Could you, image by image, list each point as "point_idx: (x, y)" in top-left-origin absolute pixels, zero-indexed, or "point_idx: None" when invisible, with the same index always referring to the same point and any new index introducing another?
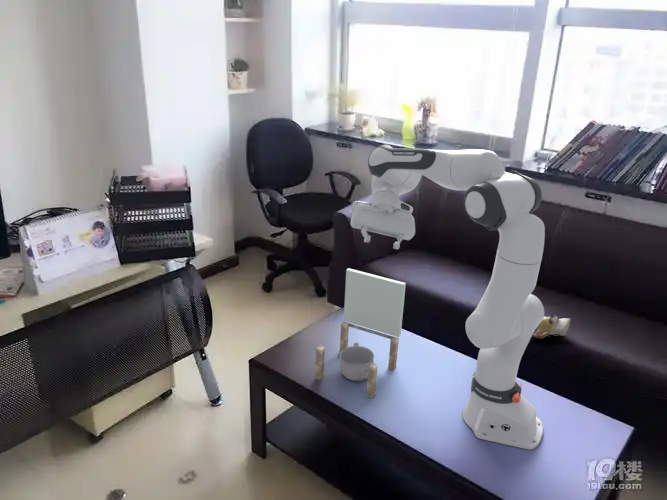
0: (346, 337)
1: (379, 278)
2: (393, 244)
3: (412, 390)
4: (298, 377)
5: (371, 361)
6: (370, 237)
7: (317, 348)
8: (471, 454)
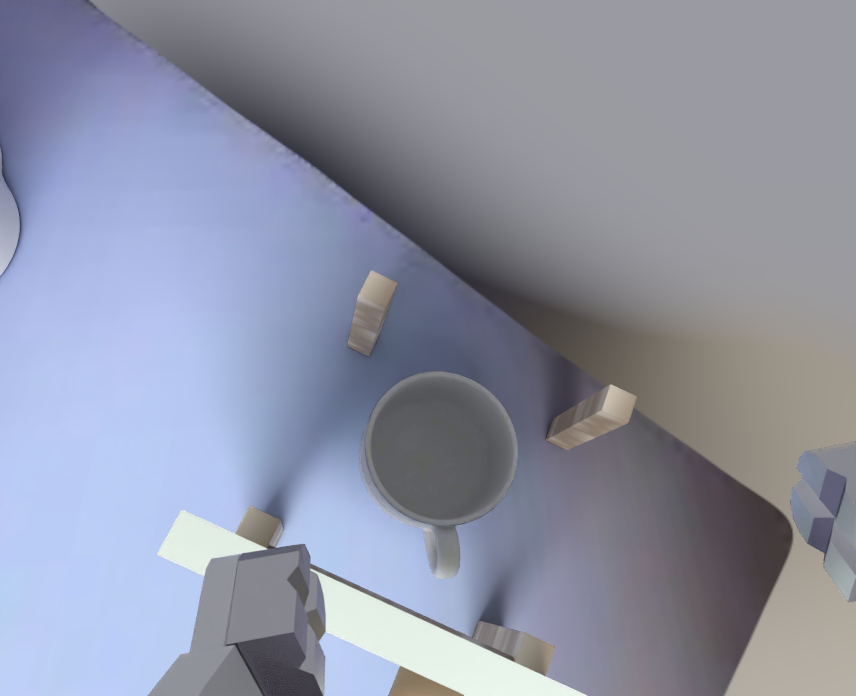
0: (498, 636)
1: (418, 618)
2: (322, 675)
3: (193, 384)
4: (634, 428)
5: (376, 405)
6: (848, 494)
7: (630, 397)
8: (46, 81)
